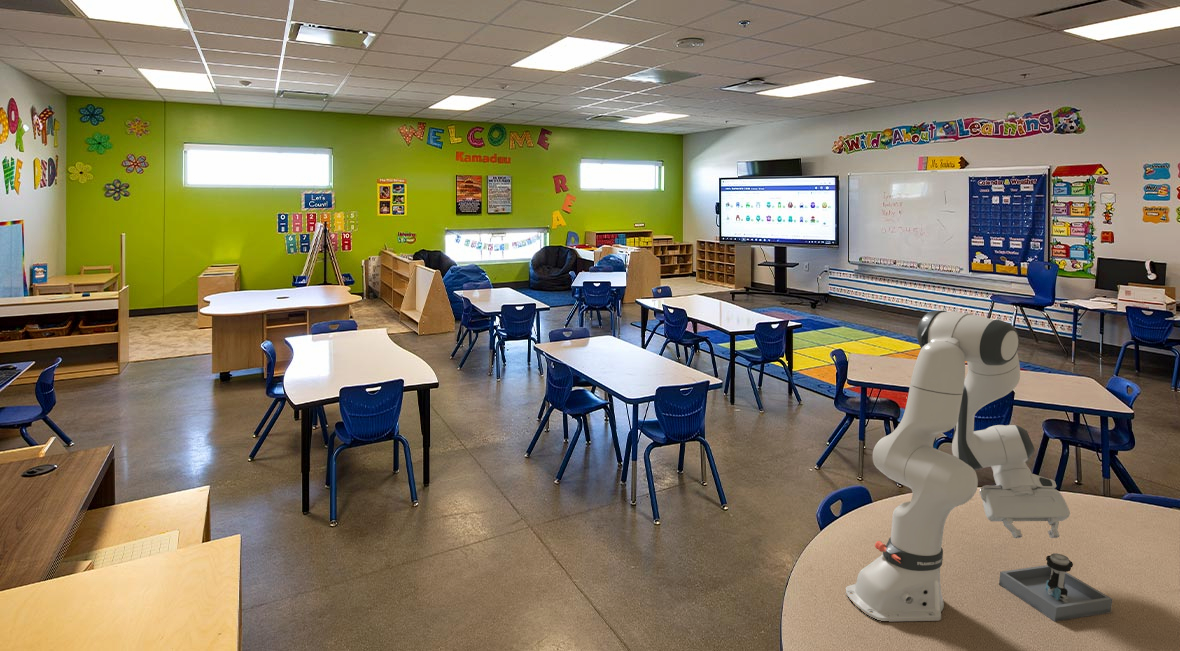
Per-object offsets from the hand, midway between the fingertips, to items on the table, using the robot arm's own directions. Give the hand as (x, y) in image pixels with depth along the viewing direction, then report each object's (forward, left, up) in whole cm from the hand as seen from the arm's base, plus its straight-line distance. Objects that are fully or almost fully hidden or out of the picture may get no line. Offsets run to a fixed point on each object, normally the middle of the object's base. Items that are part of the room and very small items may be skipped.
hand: (1036, 537), depth 170 cm
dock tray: (-2, -8, -12) cm, 14 cm away
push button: (-2, -9, -11) cm, 14 cm away
